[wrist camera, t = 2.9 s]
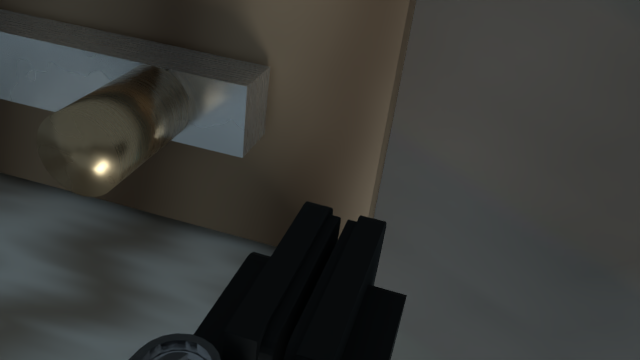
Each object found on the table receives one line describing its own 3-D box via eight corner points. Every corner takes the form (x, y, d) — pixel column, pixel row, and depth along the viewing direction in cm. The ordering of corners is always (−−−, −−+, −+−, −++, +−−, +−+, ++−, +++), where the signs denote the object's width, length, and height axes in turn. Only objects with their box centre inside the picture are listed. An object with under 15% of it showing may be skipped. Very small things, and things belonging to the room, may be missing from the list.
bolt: (-78, 52, 23) (-244, 107, 18) (-92, -11, 22) (-274, 28, 17) (264, 133, 21) (183, 223, 16) (270, 66, 19) (184, 140, 14)
